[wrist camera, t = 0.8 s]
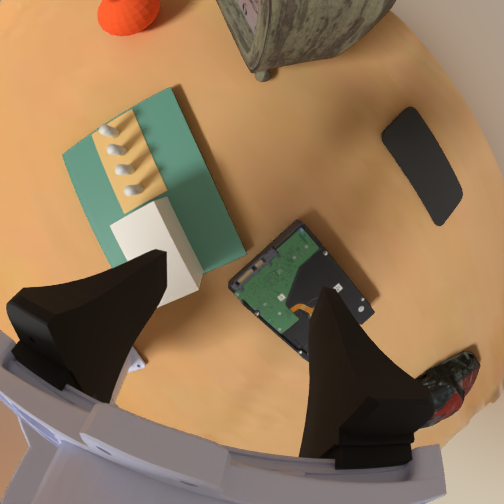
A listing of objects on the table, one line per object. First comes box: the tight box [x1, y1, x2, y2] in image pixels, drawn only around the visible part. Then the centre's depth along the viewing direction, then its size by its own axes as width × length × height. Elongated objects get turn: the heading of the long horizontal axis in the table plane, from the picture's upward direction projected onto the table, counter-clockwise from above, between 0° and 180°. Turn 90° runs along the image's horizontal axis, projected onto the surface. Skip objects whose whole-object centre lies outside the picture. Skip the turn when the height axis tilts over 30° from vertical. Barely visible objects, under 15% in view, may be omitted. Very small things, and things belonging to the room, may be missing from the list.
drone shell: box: [415, 352, 480, 429], centre depth 36 cm, size 21×20×8 cm
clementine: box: [98, 0, 160, 36], centre depth 17 cm, size 8×7×7 cm
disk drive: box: [228, 220, 375, 362], centre depth 30 cm, size 10×3×15 cm
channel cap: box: [110, 197, 204, 308], centre depth 24 cm, size 5×8×5 cm, turn 24°
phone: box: [382, 107, 463, 226], centre depth 28 cm, size 7×1×15 cm
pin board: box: [62, 87, 247, 274], centre depth 24 cm, size 14×19×4 cm
